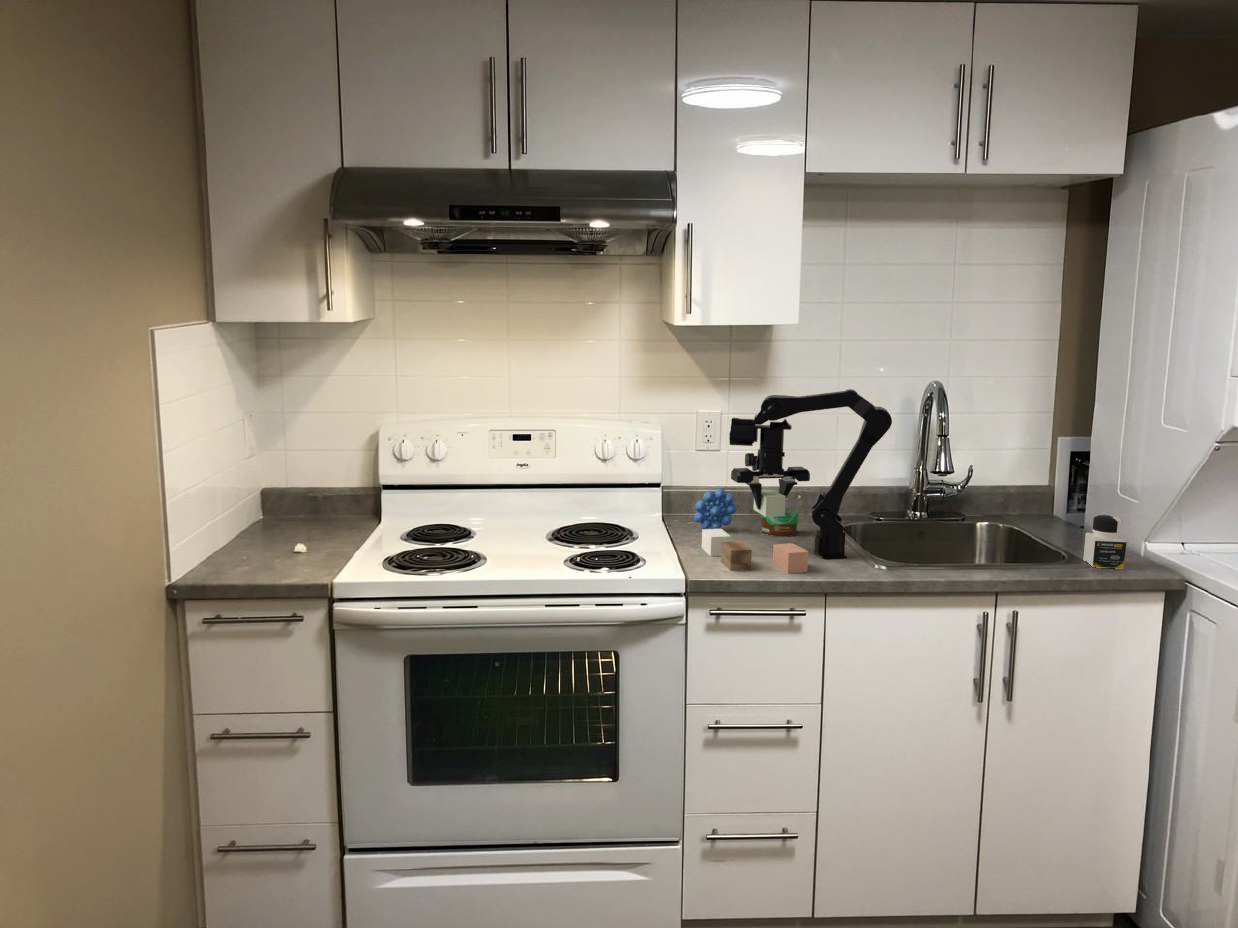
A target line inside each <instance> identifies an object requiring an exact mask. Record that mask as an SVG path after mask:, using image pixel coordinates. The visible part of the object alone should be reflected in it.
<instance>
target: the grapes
mask: <svg viewBox="0 0 1238 928" xmlns="http://www.w3.org/2000/svg"><path fill="white" fill-rule="evenodd" d="M702 499H703V500H702ZM702 499H699V500H698V501H696V503H695V505H694V509H695V510H696V511H697V512H695V514H694V515H693V521H694V522H695V523H700V524H699V528H700V530H701V531H702V529H722V527H723V526H728V525H730V524H731V523H732V521H733V517H732V515H734V514H736V512H737V510H738V506H737V504H736V503H734V501H735V495H734V494H733V493H731V492H729V493H728V492H727V493H726V490H725V489H724V488H721V487H720V488H717V489H715V492H713V491H711V490H708V491H705V493H704V494H703V497H702Z"/></svg>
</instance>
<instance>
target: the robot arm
mask: <svg viewBox="0 0 1238 928" xmlns="http://www.w3.org/2000/svg"><path fill="white" fill-rule="evenodd" d="M840 408H849V409H851V410H852V411H853V412H854V413H856V414H857V416H859V417H861V418H862V419H863V423H862V426H861V429H860V432H859V436H858V438H857V440H856V441H855V443H854V445H853V446H852V449H851V451H850V452H849V453H848V455H847V457H846V459H845V461H844V462H843V464H842V465H841V467H840V469H839V471H838V472H837V474H836V476H835V478H834V480H833V481H832V483H831V485H830V486H829V487H828V488H827V489H826V490H825V491H823V490H822V489H818V493H817V495H816V497H815V499H814V500H812V501H811V509H812V510H811V518H812V521H813V523H814V524H815V525H816V526H818V527H819V529H816V535H815V536H814V545H813V546H814V549H813V554H815V555H816V556H819V557H820V558H821V559H842V558H845V559H846V558H848V555H847V554H846V553H845V551H846V550H845V549H846V548H845V547H846V530H845V524H844V523H845V522H844V519H843V518H842V517H841V516H840V515H839V511H840V509H841V508H840V507H841V505H842V501H843V498H844V496H845V494H846V493H847V491H848V489H849V487H850V486H851V484H852V482H853V480H854V479H855V477H856V475H857V474H858V472H859V470H860V469H861V468H862V465H863V464H864V462H865V460H866V458H867V456H868V455H869V454H870V452H871V450H872V448H874V446H875V445H876V444H878V442H879V441H880V440H881V439H882V438H883V437H884V436H885V434H887V432H889V430H890V429H891V427H892V424H893V420H892V416H891V414H890V413H889V411H888V409H886V408H885V407H882V406H875V405H874V404H873V403H872V402H870V401H869V400H867V399H866V398H864V397H863V396H861V394H859V393H858V392H857V391H856V390H854V389H851V388H848V389H846V390H841V391H839V390H838V391H831V392H826V393H817V394H809V395H802V396H793V395H784V394H783V395H782V394H770V395H768V396H766V397H765V398H764V400H762V402H761V405H760V411H759V412H758V413H757V414H755V416H754V418H740V417H732V418H731V419H730V420H731V422H730V423H731V424H730V431H729V439H728V440H729V446H739V447H740V446H741V447H742V446H745V447H753V444H754V443H757V442H758V440H759V449H758V450H757V455H755V453H754V452H752V453H751V452H747V453H745V454H744V464H745V467H734V468H733V469H732V470H731V473H730V479H731V480H732V481H734V482H735V483H738V484H746V485H747V486H749V489H750V491H751V492H752V495H753V500H754V499H755V503H756V506H757V509H760V507H761V490H763V488H762V486H763V485H762V483H760V480H761V479H762V480H763V479H765V480H766V479H778V485H779V486H778V489H779V490H778V492H779V493H781V494H782V495H784V496H786V498H788V496H789V494H790V492H791V491H792V489H793V488H794V486H797V485H798V482H809V481H810V480H811V473H810V471H809V469H807V468H805V467H803V466H787V469H786V470H785V469H784V468H783V464H784V463H783V462H784V457H786V456H785V454H786V452H785V451H784V442H785V441H784V435H785V430H786V431H791V430H792V427H793V426H792V425H791V424H790V423H789V422H788V420H787V418H788V417H791V416H794V415H796V414H799V413H806V412H814V411H823V410H831V409H840ZM781 419H783V421H782V420H781ZM778 420H781V421H778ZM768 421H769V424H766V425H765V423H767V422H768ZM759 429H760V431H759ZM759 432H760V433H759ZM758 433H759V434H758ZM759 435H760V436H759ZM758 437H759V439H758ZM749 467H751V469H750V468H749ZM786 498H785V500H786Z"/></svg>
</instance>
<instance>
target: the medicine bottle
mask: <svg viewBox="0 0 1238 928" xmlns="http://www.w3.org/2000/svg"><path fill="white" fill-rule="evenodd" d="M1092 522H1093V523H1092V531H1091V532H1086V533H1085V538H1084V549H1083V561H1084V562H1085V561H1087V562H1088V563H1089V564H1090V565H1091V566H1092V567H1096V568H1095V569H1101V568H1115V569H1114V570H1124V569H1125V561H1126V553H1127V552H1126V551H1127V540H1126V539H1124V538H1123V537H1122V536H1120V535H1121V534H1122V533H1121V531H1122V530H1121V529H1122V523H1123V522H1122V519H1121V518H1119V517H1117V516H1114V515H1107V514H1100V515H1097V516H1094V517H1093V521H1092ZM1089 564H1088V565H1089ZM1090 565H1089V566H1090ZM1091 566H1090V567H1091ZM1092 567H1091V568H1092Z"/></svg>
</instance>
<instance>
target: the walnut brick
mask: <svg viewBox="0 0 1238 928" xmlns="http://www.w3.org/2000/svg"><path fill="white" fill-rule="evenodd" d="M752 551H753V550H752V548H750V547H749V546H748V545H747V544H745V542H743V541H740V540H739V541H731V542H722V546H721V556H720V561H721V563H722V564H723V565H724V566H725V567H726V568H727V569H728V570H729V571H731V572H732V571H733V572H734V571H735V572H737V571H751V570H752Z"/></svg>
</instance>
